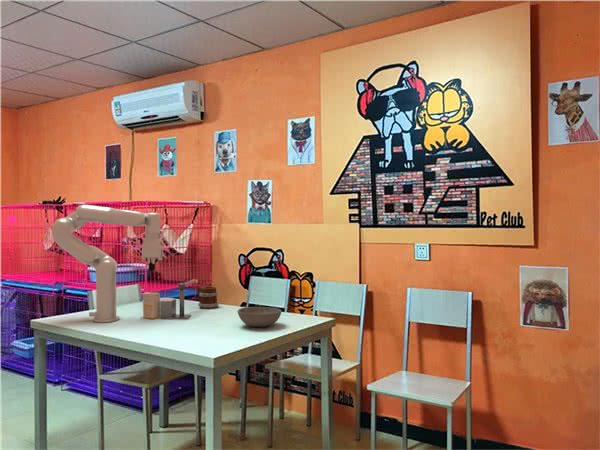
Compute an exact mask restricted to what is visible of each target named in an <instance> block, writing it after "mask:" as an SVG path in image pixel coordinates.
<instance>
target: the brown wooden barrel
mask: <svg viewBox="0 0 600 450" xmlns="http://www.w3.org/2000/svg"><path fill="white" fill-rule="evenodd" d="M196 293H197V298H198V304H197V305H198V307H199V309H201V310H214V309H218V306H219V301H218V298H217V297H218V294H219V293H218V292H217V287H216V286H202V285H201V284H197V291H196Z"/></svg>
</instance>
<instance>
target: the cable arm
mask: <svg viewBox="0 0 600 450" xmlns="http://www.w3.org/2000/svg"><path fill="white" fill-rule="evenodd" d="M198 281H199V280H198V279H190V280H189V281H185V282H180V283H177V285H178V286H177V287H178V288H184V289H185V288H186V286H190V285H192V284H193V285H194V284H198Z"/></svg>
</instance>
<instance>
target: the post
mask: <svg viewBox="0 0 600 450" xmlns="http://www.w3.org/2000/svg"><path fill="white" fill-rule="evenodd" d="M178 291H179V293H178V294H179V314H177V313H176V315H175V316H174V317H172V319H171V320H188V319H190V318H191V317H192V314H191V313H190V314H189V313H188V314H185V288H179V289H178Z"/></svg>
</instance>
